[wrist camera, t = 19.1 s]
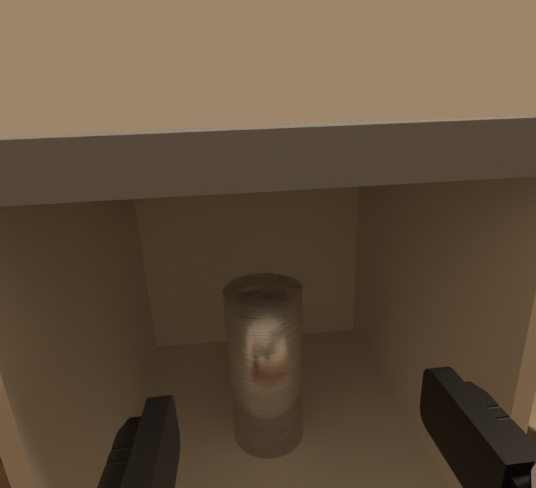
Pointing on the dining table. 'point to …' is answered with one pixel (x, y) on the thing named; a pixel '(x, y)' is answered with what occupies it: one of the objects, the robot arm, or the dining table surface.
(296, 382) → the chrome cylinder
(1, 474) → the dining table surface
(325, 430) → the under-counter cabinet
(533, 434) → the dining table surface
